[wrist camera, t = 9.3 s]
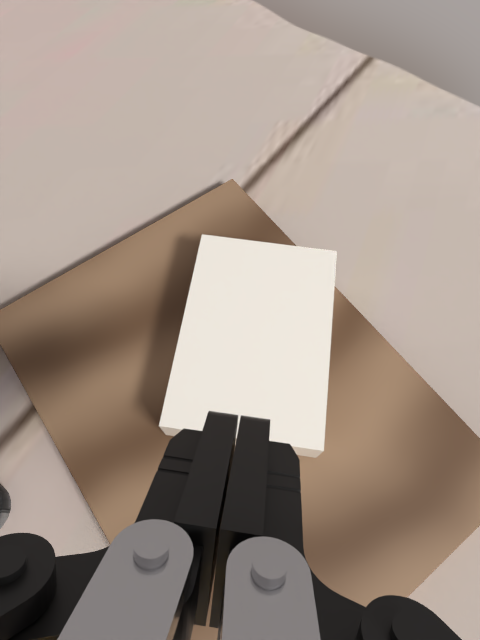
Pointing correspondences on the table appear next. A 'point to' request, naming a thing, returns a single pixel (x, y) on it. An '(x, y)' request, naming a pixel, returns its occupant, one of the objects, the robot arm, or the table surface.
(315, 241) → the table surface
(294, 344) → the block
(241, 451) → the robot arm
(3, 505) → the phone
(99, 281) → the board
